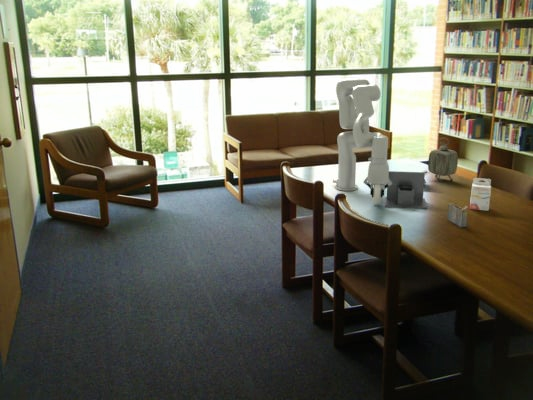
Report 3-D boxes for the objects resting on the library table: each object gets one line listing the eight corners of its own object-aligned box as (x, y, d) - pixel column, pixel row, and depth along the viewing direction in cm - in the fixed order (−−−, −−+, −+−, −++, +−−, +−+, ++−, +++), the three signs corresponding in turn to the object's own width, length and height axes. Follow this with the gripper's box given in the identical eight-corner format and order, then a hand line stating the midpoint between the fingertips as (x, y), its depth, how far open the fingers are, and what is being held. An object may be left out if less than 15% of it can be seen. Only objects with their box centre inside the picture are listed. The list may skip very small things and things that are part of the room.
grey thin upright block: (466, 227, 236) (468, 206, 233) (460, 228, 235) (462, 206, 233) (452, 219, 247) (454, 199, 244) (446, 220, 246) (448, 199, 243)
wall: (416, 197, 295) (437, 179, 293) (405, 185, 294) (427, 167, 292) (410, 193, 311) (431, 176, 309) (400, 182, 311) (421, 165, 308)
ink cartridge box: (469, 209, 259) (472, 179, 255) (469, 206, 264) (472, 177, 260) (488, 211, 257) (492, 181, 252) (488, 208, 261) (491, 178, 257)
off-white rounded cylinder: (371, 202, 268) (372, 179, 264) (375, 200, 271) (376, 178, 267) (378, 204, 265) (379, 181, 262) (382, 202, 268) (383, 179, 264)
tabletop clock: (456, 181, 310) (459, 138, 303) (445, 183, 306) (449, 140, 298) (435, 176, 322) (438, 135, 315) (425, 178, 317) (428, 137, 310)
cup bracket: (384, 198, 279) (385, 170, 275) (424, 200, 275) (426, 171, 271) (384, 207, 265) (386, 177, 261) (426, 208, 261) (428, 179, 257)
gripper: (361, 161, 260) (359, 198, 265) (396, 163, 256) (394, 199, 262) (361, 158, 267) (360, 193, 272) (396, 159, 263) (394, 195, 269)
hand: (377, 196), depth 267 cm, fingers closed on off-white rounded cylinder, 4 cm apart
